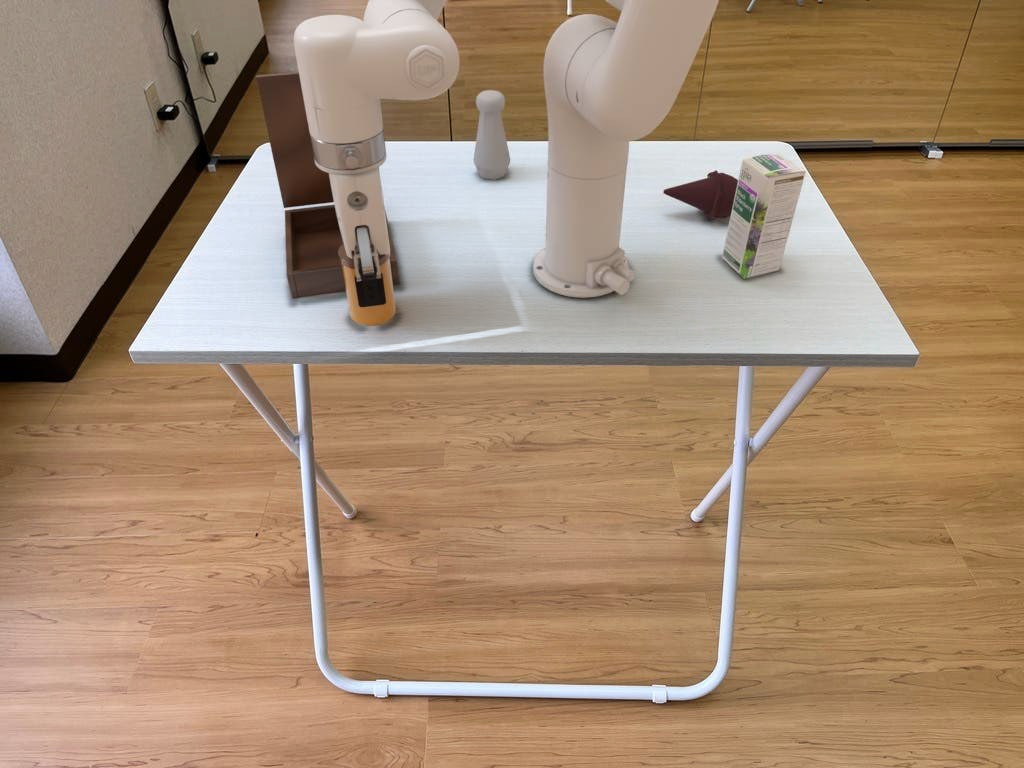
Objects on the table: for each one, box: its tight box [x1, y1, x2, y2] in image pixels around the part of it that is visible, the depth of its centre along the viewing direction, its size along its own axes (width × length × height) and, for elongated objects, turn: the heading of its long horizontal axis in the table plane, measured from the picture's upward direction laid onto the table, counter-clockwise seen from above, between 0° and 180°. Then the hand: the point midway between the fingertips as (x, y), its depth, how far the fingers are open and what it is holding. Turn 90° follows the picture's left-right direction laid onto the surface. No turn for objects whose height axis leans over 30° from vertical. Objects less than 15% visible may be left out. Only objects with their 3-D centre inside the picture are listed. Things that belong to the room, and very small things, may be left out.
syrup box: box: [721, 152, 807, 280], centre depth 99 cm, size 6×6×14 cm
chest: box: [284, 204, 401, 299], centre depth 104 cm, size 17×14×4 cm
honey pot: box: [338, 244, 397, 326], centre depth 92 cm, size 6×6×10 cm
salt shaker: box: [473, 89, 511, 181], centre depth 120 cm, size 6×6×13 cm
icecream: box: [662, 169, 738, 221], centre depth 112 cm, size 7×7×15 cm
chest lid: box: [255, 71, 381, 209], centre depth 103 cm, size 17×14×1 cm
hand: (369, 288), depth 93 cm, fingers closed on honey pot, 5 cm apart
